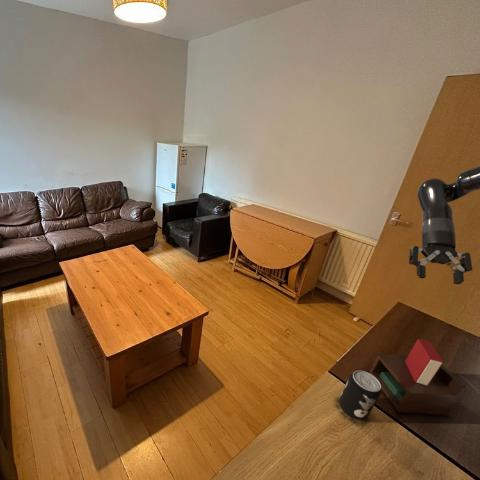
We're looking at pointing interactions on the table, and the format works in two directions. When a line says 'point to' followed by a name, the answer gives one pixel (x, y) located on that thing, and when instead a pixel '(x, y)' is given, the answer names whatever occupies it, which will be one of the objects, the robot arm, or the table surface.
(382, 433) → the table surface
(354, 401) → the beverage can
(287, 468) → the table surface
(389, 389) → the bookshelf
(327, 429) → the table surface
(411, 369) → the book
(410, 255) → the robot arm
